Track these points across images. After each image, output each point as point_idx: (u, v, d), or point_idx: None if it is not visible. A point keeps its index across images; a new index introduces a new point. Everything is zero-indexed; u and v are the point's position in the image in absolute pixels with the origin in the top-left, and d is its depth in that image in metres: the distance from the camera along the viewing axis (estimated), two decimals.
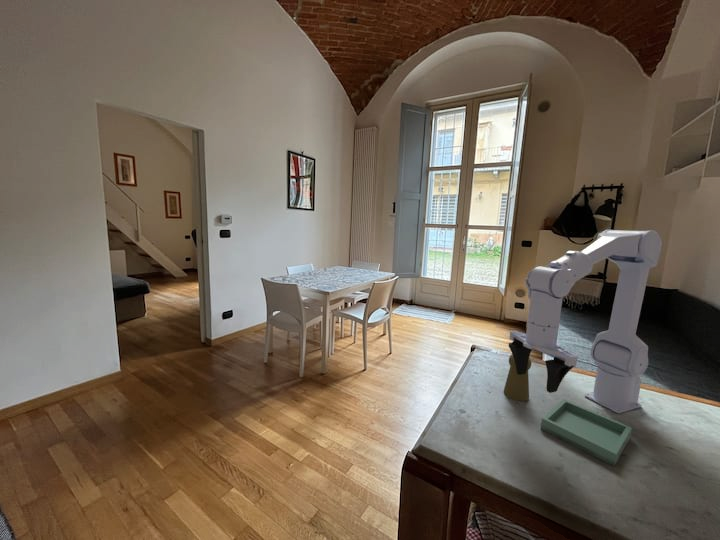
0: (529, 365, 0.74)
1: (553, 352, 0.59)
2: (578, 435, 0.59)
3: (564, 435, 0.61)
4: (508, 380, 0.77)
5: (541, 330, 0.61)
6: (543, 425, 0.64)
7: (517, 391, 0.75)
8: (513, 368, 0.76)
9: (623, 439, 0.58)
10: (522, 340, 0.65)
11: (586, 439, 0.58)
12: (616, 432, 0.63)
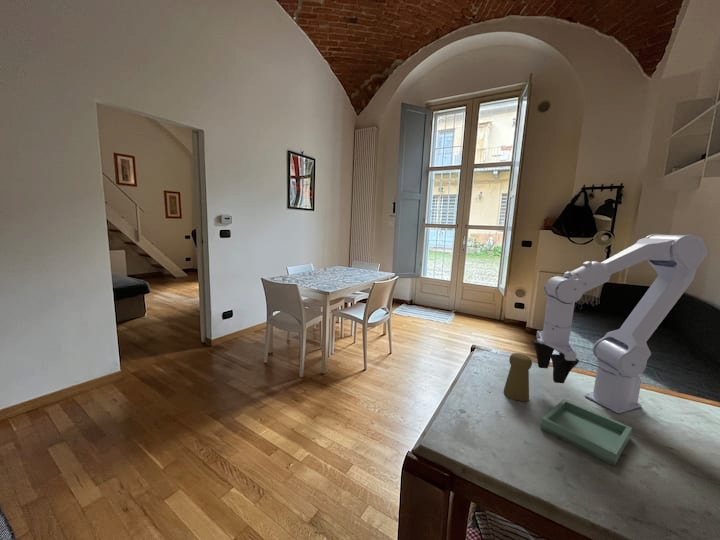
0: (530, 364, 0.74)
1: (557, 348, 0.71)
2: (578, 435, 0.59)
3: (564, 435, 0.61)
4: (508, 379, 0.77)
5: (550, 329, 0.73)
6: (543, 425, 0.64)
7: (517, 390, 0.75)
8: (513, 367, 0.76)
9: (623, 439, 0.58)
10: (540, 337, 0.77)
11: (586, 439, 0.58)
12: (616, 432, 0.63)
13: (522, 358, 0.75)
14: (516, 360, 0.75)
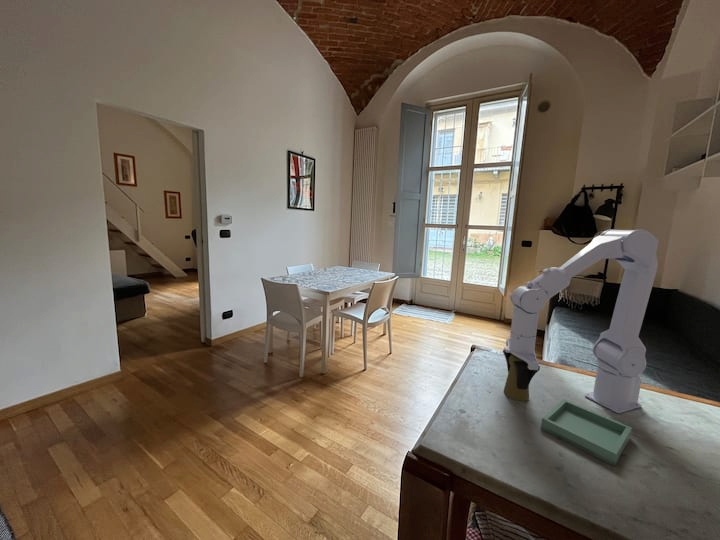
0: None
1: (521, 357, 0.72)
2: (578, 435, 0.59)
3: (564, 435, 0.61)
4: (508, 380, 0.77)
5: (516, 338, 0.74)
6: (543, 425, 0.64)
7: (516, 391, 0.75)
8: (512, 368, 0.76)
9: (623, 439, 0.58)
10: (508, 346, 0.79)
11: (586, 439, 0.58)
12: (616, 432, 0.63)
13: (521, 359, 0.74)
14: None
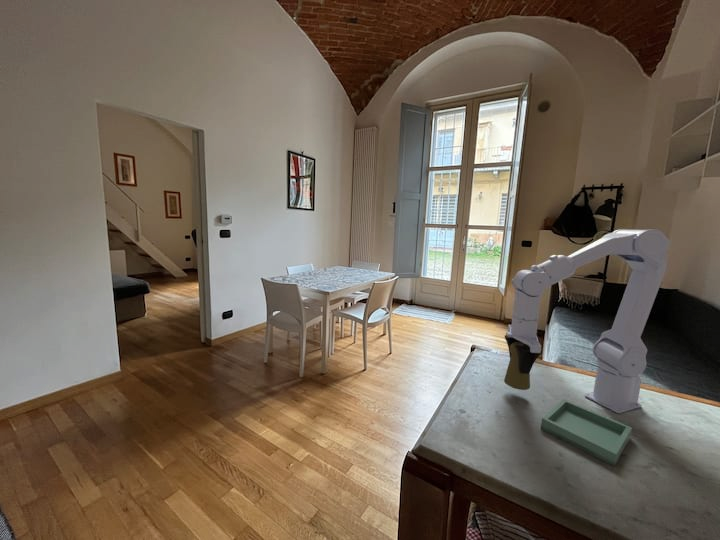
0: None
1: (523, 340, 0.71)
2: (578, 435, 0.59)
3: (564, 435, 0.61)
4: (509, 368, 0.77)
5: (518, 322, 0.73)
6: (543, 425, 0.64)
7: (517, 379, 0.75)
8: (513, 356, 0.76)
9: (623, 439, 0.58)
10: (509, 331, 0.78)
11: (586, 439, 0.58)
12: (616, 432, 0.63)
13: None
14: None
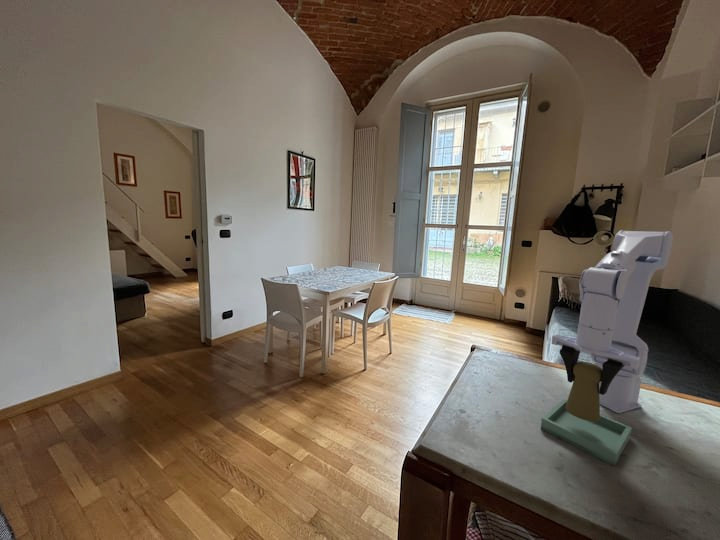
0: None
1: (616, 356, 0.57)
2: (578, 435, 0.59)
3: (564, 435, 0.61)
4: (580, 398, 0.61)
5: (601, 334, 0.58)
6: (543, 425, 0.64)
7: (595, 409, 0.60)
8: (587, 382, 0.61)
9: (623, 439, 0.58)
10: (574, 345, 0.62)
11: (586, 439, 0.58)
12: (616, 432, 0.63)
13: (598, 368, 0.60)
14: (594, 374, 0.60)
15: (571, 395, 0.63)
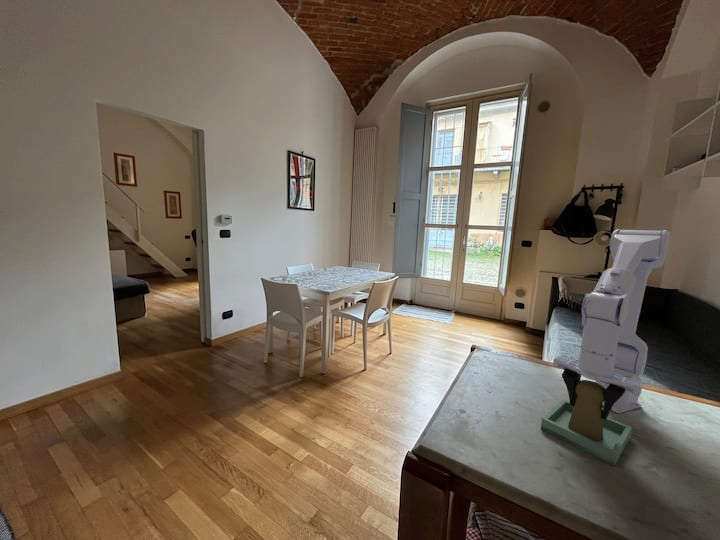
0: None
1: (619, 382, 0.57)
2: (578, 435, 0.59)
3: (564, 435, 0.61)
4: (584, 418, 0.61)
5: (604, 360, 0.58)
6: (543, 425, 0.64)
7: (599, 429, 0.60)
8: (590, 402, 0.60)
9: (623, 439, 0.58)
10: (576, 369, 0.62)
11: (586, 439, 0.58)
12: (616, 432, 0.63)
13: (601, 388, 0.60)
14: (598, 394, 0.59)
15: (574, 414, 0.63)
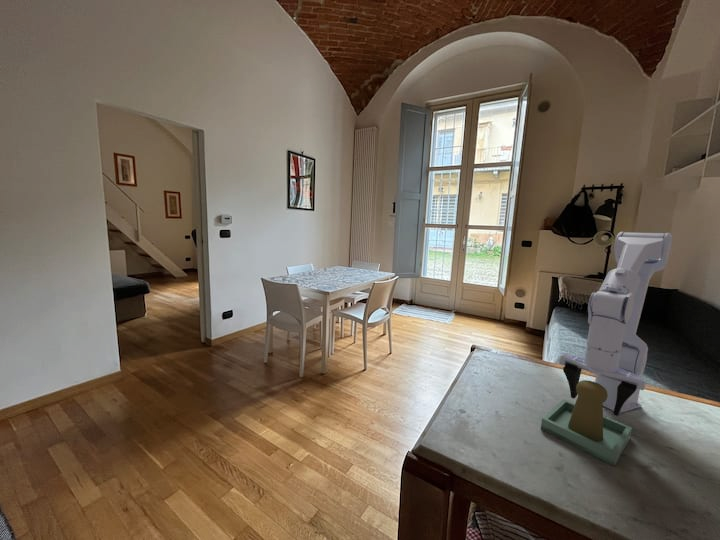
0: None
1: (624, 377, 0.60)
2: (578, 435, 0.59)
3: (564, 435, 0.61)
4: (584, 419, 0.61)
5: (609, 356, 0.61)
6: (543, 425, 0.64)
7: (599, 429, 0.60)
8: (591, 402, 0.60)
9: (623, 439, 0.58)
10: (582, 365, 0.65)
11: (586, 439, 0.58)
12: (616, 432, 0.63)
13: (601, 389, 0.60)
14: (598, 394, 0.59)
15: (574, 414, 0.63)
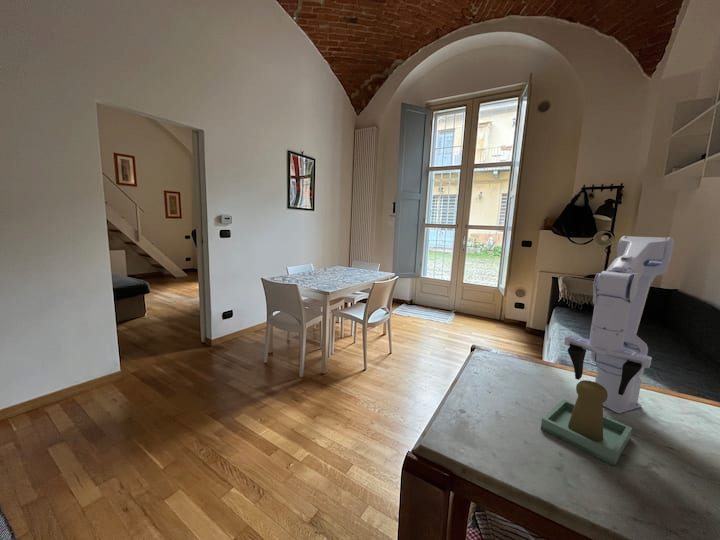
0: None
1: (629, 356, 0.60)
2: (578, 435, 0.59)
3: (564, 435, 0.61)
4: (584, 419, 0.61)
5: (614, 335, 0.61)
6: (543, 425, 0.64)
7: (599, 429, 0.60)
8: (591, 402, 0.60)
9: (623, 439, 0.58)
10: (587, 346, 0.65)
11: (586, 439, 0.58)
12: (616, 432, 0.63)
13: (602, 389, 0.60)
14: (598, 394, 0.59)
15: (574, 414, 0.63)
